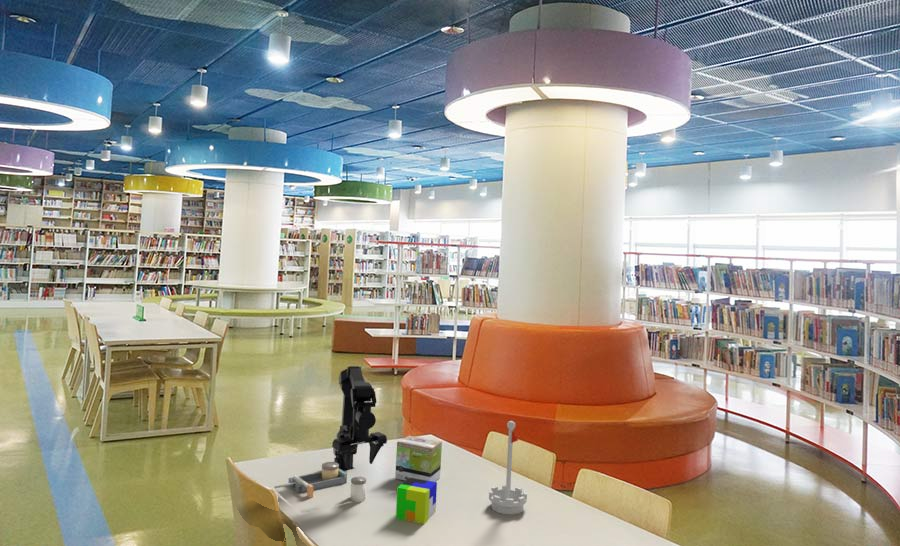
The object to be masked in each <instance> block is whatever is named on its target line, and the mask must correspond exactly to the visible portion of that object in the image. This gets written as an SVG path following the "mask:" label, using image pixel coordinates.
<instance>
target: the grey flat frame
mask: <svg viewBox="0 0 900 546" xmlns="http://www.w3.org/2000/svg"><path fill="white" fill-rule="evenodd" d="M297 476H298V477H300V478H301V479H302V480H304V481H305V482H307V483H308V484H311V485H313V486H314V487H313V491H315V490H320V489H325V488H329V487H333V486H340V485H343V484H347V481H348V473H347V472H345V471H342V470H341V469H339V468H338V478H335V479H330V480H325V481H321V480H322V471H317V472H313V473H307V474H304V475H297ZM294 482H295V480H294V476H292V477H288V483H287V484H289V483H294ZM290 487H291V488H292V489H294V490H295V491H296V492H297V493H299V494H302V493H307V487H305V486H304V485H300V484H299V483H296V484H294V485H290Z"/></svg>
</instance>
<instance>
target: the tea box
mask: <svg viewBox="0 0 900 546" xmlns="http://www.w3.org/2000/svg"><path fill="white" fill-rule="evenodd" d="M442 446H443V441H440V440H435V439H434V440H433V439H428V438H423V437H418V436H413V435H406V436H405V437H404V438H402V439H400V440H398V441H397V442H396V455H395V457H396V458H395V473H394V474H395V476H394V478H395V480H401V481H404V482H405V481H406V480H407V479H408V478H415V479H421V480H427V481H432V482H437V481H438V480H440V478H441V469H442V468H441V467H442V466H441V465H442V464H441V462H442V450H443V449H442Z"/></svg>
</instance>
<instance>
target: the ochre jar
mask: <svg viewBox="0 0 900 546" xmlns="http://www.w3.org/2000/svg"><path fill="white" fill-rule="evenodd" d="M338 468H339V464H338V463H335V462H334V461H327V462H324V463H322V464H321V472H322V480H321V481H325V480H330V479H335V478H338Z"/></svg>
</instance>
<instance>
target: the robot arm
mask: <svg viewBox="0 0 900 546" xmlns="http://www.w3.org/2000/svg"><path fill="white" fill-rule="evenodd" d="M338 384H339V387H340V389H341V391H342V394H343V396H342V411H341V425H340V426H339V431H338V432H337V434H336V438H334V439H333V440H332V443H331V444H332V445H331V446H332V452H333V455H334V458H333V459H334V460H333V462H335V463H338V464H339V469H341V470H342V471H344V472H345V471H350V470H355V469H356V468H355V467H354V455H357V453H358V447H359V445H362V444H367V443H368V445H369V456H368V457H369V458H368V459H369V464H370V465H372V464H373V463H374V461H375V459H376V457H377V456H378V453H379V452H380V450H381V448H382V447H384V444H387V443H388V437H387V435H386V434H385V433H382V432H380V431H376V432H371V433H370V429H372V428H373V427H374V426H375V424H376V422H377V419H376V416H375V414H374V413H373V411H372V408H376V404H377V395H376V391H375V388H374V387H373V386H372V384H371V383H370V382H367V381H366V380H365V378H364V376H363V371H362V367H361V366H359V365H349V366H346V369H343V370H341V371H340V373H339V375H338Z"/></svg>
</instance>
